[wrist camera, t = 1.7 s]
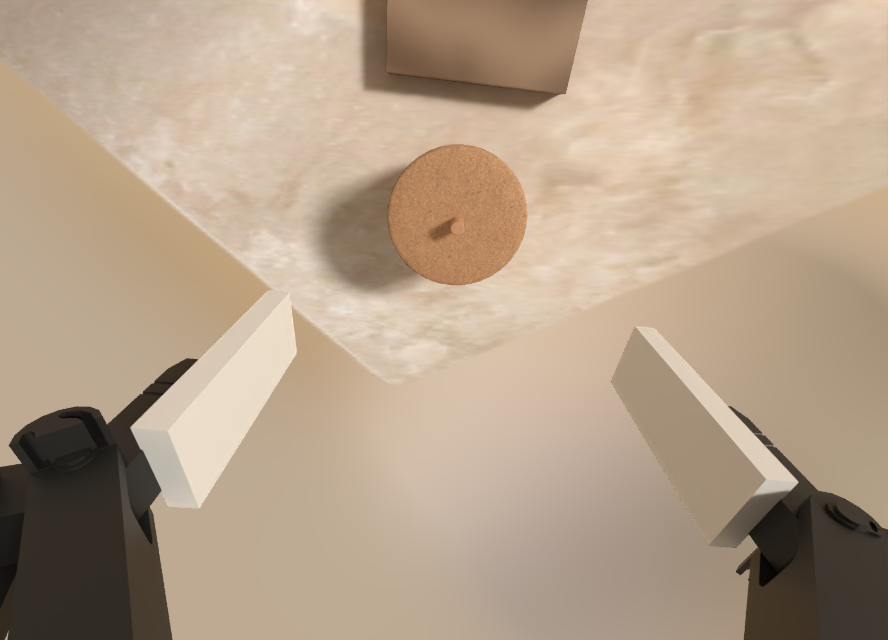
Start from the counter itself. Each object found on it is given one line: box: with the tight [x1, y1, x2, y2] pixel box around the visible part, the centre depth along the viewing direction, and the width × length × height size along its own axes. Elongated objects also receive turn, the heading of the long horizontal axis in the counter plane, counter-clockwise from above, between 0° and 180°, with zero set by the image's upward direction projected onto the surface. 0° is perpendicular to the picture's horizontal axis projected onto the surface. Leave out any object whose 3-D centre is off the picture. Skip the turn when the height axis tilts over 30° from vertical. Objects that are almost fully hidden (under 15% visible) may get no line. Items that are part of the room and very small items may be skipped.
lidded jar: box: [388, 144, 527, 285], centre depth 30 cm, size 11×11×9 cm
